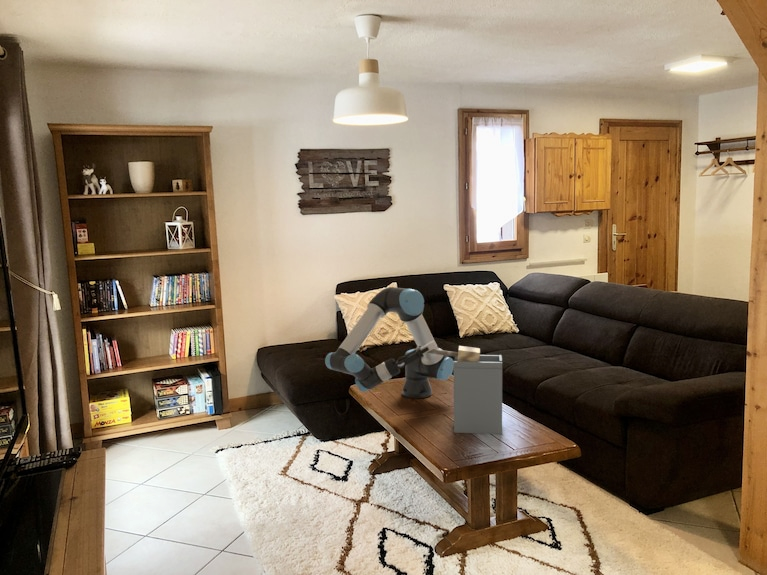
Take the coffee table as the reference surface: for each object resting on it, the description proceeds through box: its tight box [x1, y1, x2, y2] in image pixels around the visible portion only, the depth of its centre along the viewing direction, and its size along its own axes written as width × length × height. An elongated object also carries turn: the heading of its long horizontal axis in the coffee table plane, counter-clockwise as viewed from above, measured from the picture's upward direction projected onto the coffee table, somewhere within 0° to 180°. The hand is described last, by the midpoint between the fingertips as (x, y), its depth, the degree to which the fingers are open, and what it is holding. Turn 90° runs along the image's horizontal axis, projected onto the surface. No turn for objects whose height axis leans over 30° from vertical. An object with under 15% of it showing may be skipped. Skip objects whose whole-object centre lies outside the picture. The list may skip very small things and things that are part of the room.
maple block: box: [415, 345, 481, 362], centre depth 264 cm, size 27×8×6 cm, turn 81°
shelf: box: [453, 354, 503, 435], centre depth 264 cm, size 20×14×31 cm
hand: (435, 343), depth 264 cm, fingers closed on maple block, 2 cm apart
